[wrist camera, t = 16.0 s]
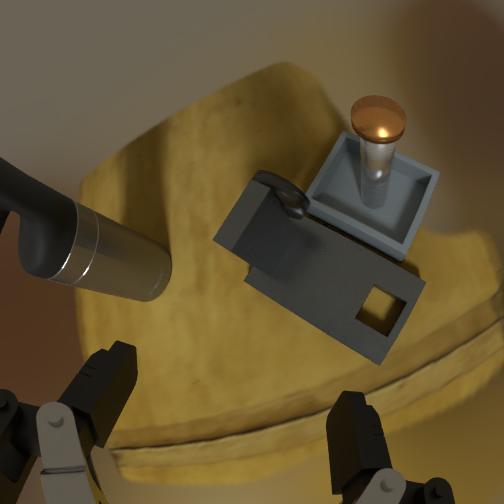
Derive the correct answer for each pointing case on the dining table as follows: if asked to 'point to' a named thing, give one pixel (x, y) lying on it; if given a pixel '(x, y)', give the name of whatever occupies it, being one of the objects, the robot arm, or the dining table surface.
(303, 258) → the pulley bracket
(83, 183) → the dining table surface
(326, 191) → the tray
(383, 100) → the lock pin
